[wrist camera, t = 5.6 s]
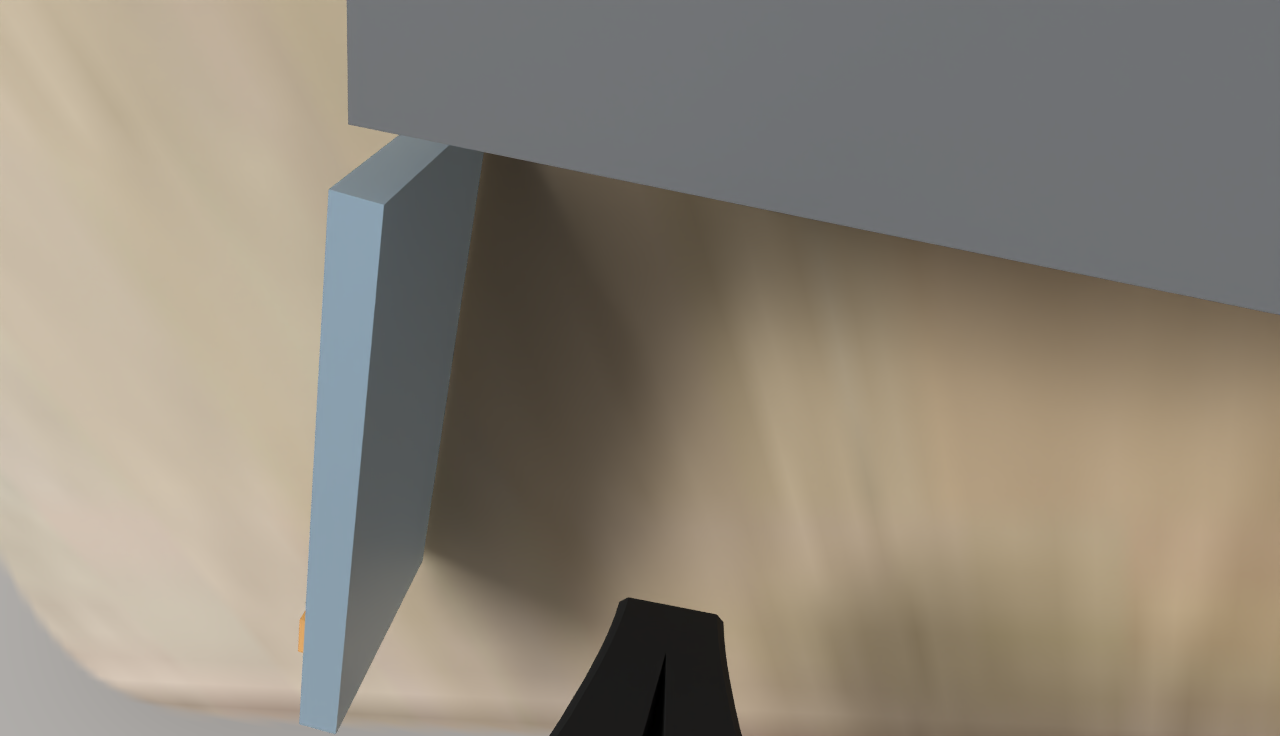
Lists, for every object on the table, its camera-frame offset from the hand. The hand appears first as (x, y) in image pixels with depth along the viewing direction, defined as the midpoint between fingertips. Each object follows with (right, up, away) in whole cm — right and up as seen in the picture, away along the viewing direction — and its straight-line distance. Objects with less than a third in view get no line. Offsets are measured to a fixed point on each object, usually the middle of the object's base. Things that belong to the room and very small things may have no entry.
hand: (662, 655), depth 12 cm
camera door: (-4, +4, +3) cm, 7 cm away
